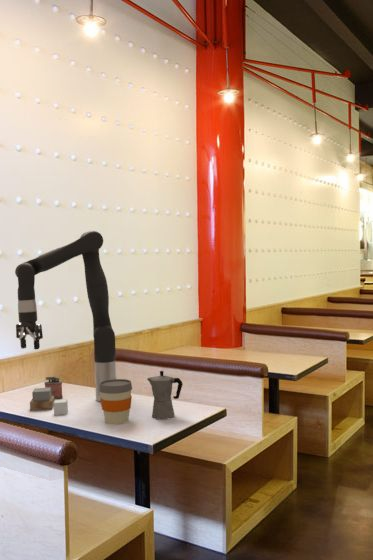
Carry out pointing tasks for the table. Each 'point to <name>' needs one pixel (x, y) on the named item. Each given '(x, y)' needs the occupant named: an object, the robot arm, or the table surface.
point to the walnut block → (42, 404)
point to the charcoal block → (41, 394)
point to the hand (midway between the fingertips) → (30, 348)
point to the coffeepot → (163, 395)
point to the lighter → (54, 386)
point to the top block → (60, 407)
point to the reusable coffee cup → (116, 400)
